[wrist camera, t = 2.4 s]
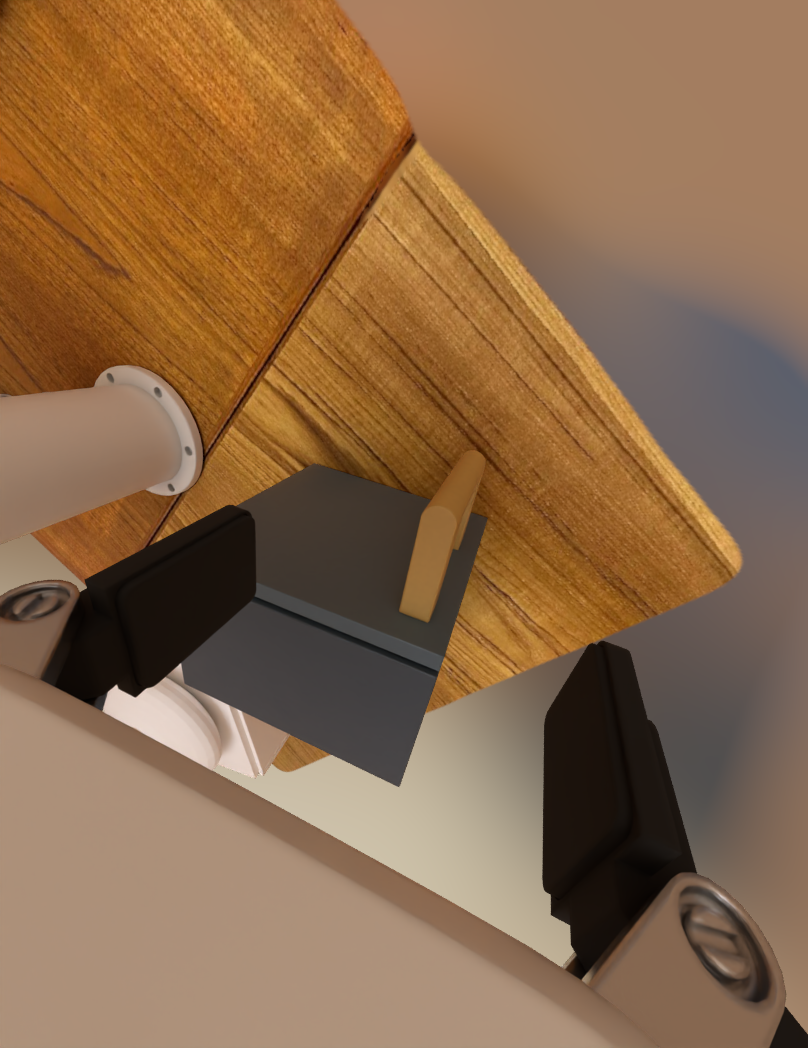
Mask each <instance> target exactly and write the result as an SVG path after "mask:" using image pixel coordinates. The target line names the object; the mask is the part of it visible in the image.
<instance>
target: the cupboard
mask: <svg viewBox="0 0 808 1048" xmlns="http://www.w3.org/2000/svg"><path fill="white" fill-rule="evenodd" d="M181 666H182V672H183V678H184V684H186V685H188V686H190V687H192V688H194V689H196V690H198V691H200V692H203V693H205V694H207V695H209V696H211V697H213V698H215V699H217V700H219V701H221V702H223V703H225V704H227V705H229V706H232V707H234V708H236V709H238V710H240V711H242V712H244V713H246V714H248V715H250V716H252V717H254V718H256V719H259V720H261V721H263V722H265V723H267V724H269V725H271V726H273V727H275V728H277V729H279V730H281V731H283V732H286V733H288V734H290V735H292V736H294V737H296V738H298V739H300V740H302V741H304V742H306V743H308V744H310V745H313V746H315V747H317V748H319V749H321V750H323V751H325V752H327V753H329V754H331V755H333V756H335V757H337V758H340V759H342V760H344V761H346V762H348V763H350V764H352V765H354V766H356V767H358V768H360V769H362V770H365V771H367V772H369V773H371V774H373V775H375V776H377V777H379V778H381V779H383V780H385V781H387V782H390V783H392V784H393V785H396V786H398V787H399V786H400V784H401V781H402V778H403V775H404V772H405V769H406V767H407V764H408V761H409V758H410V755H411V752H412V749H413V746H414V743H415V740H416V738H417V735H418V732H419V729H420V726H421V723H422V720H423V717H424V714H425V711H426V709H427V706H428V703H429V700H430V697H431V694H432V691H433V688H434V685H435V682H436V680H437V677H438V673H439V671H437V670H434V669H432V668H429V667H427V666H424V665H422V664H419V663H417V662H415V661H412V660H410V659H407V658H405V657H402V656H400V655H397V654H395V653H392V652H390V651H388V650H385V649H383V648H380V647H378V646H375V645H373V644H370V643H368V642H365V641H363V640H361V639H358V638H356V637H353V636H351V635H348V634H346V633H343V632H341V631H338V630H336V629H334V628H331V627H329V626H326V625H324V624H321V623H319V622H316V621H314V620H311V619H309V618H307V617H304V616H302V615H299V614H297V613H294V612H292V611H289V610H287V609H285V608H282V607H280V606H277V605H275V604H272V603H270V602H267V601H265V600H262V599H260V598H258V597H255V596H254V598H253V599H252V600H251V602H249V603H248V604H247V605H246V606H245V607H244V608H243V609H242V610H240V611H239V612H238V613H237V614H236V615H235V616H234V617H233V618H231V619H230V620H229V621H228V622H227V623H226V624H225V625H224V626H222V627H221V628H220V629H219V630H218V631H217V632H216V633H214V634H213V635H212V636H211V637H210V638H209V639H208V640H207V641H205V642H204V643H203V644H202V645H201V646H200V647H199V648H198V649H196V650H195V651H194V652H193V653H192V654H191V655H190V656H189V657H187V658H186V659H185V660H184V661H183V662H182V663H181Z"/></svg>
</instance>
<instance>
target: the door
mask: <svg viewBox="0 0 808 1048" xmlns="http://www.w3.org/2000/svg"><path fill="white" fill-rule="evenodd" d="M485 465H486V461H485V458H484V456H483V455H482V454H481V453H480V452H478V451H474V450H471V451H467V452H466V453H464V454H463V455H462V457H461V458H460V460H459V461H458V462H457V464H456V465H455V467H454V468H453V470H452V471H451V472H450V474H449V475H448V477H447V478H446V480H445V481H444V483H443V484H442V485H441V487H440V488H439V490H438V491H437V493H436V494H435V495H434V497H433V498H432V500H429V499H426V498H423V497H420V496H417V495H414V494H410V493H407V492H404V491H401V490H398V489H395V488H391V487H388V486H385V485H382V484H379V483H375V482H372V481H369V480H366V479H363V478H360V477H356V476H353V475H350V474H347V473H344V472H341V471H337V470H334V469H331V468H328V467H325V466H321V465H318V464H315V463H314V464H312V465H310V466H308V467H307V468H305V469H303V470H301V471H299V472H297V473H296V474H294V475H292V476H290V477H288V478H286V479H285V480H283V481H281V482H279V483H277V484H275V485H274V486H272V487H270V488H268V489H266V490H264V491H263V492H261V493H259V494H257V495H255V496H253V497H252V498H250V499H248V500H246V501H244V502H242V503H241V504H239V505H237V506H236V507H239V508H242V509H244V510H247V511H249V512H250V513H251V515H252V518H253V519H254V520H255V531H256V594H255V597H258V598H260V599H262V600H265V601H267V602H270V603H272V604H275V605H277V606H280V607H282V608H285V609H287V610H289V611H292V612H294V613H297V614H299V615H302V616H304V617H307V618H309V619H311V620H314V621H316V622H319V623H321V624H324V625H326V626H329V627H331V628H334V629H336V630H338V631H341V632H343V633H346V634H348V635H351V636H353V637H356V638H358V639H361V640H363V641H365V642H368V643H370V644H373V645H375V646H378V647H380V648H383V649H385V650H388V651H390V652H392V653H395V654H397V655H400V656H402V657H405V658H407V659H410V660H412V661H415V662H417V663H419V664H422V665H424V666H427V667H429V668H432V669H434V670H437V671H439V670H440V668H441V665H442V662H443V659H444V656H445V653H446V650H447V647H448V643H449V640H450V637H451V634H452V631H453V627H454V624H455V621H456V618H457V615H458V612H459V608H460V605H461V602H462V599H463V596H464V592H465V589H466V586H467V583H468V580H469V576H470V573H471V570H472V567H473V564H474V561H475V557H476V554H477V551H478V548H479V545H480V541H481V538H482V535H483V532H484V529H485V526H486V522H487V519H488V518H487V517H483V516H480V515H477V514H474V513H471V511H472V507H473V504H474V501H475V498H476V495H477V491H478V488H479V485H480V482H481V478H482V475H483V472H484V469H485Z"/></svg>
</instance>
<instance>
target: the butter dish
mask: <svg viewBox="0 0 808 1048" xmlns="http://www.w3.org/2000/svg"><path fill="white" fill-rule="evenodd" d="M103 709H104V712H105V713H106V714H108V715H110V716H112V717H114V718H115V719H117V720H119V721H121V722H123V723H125V724H127V725H128V726H130V727H132V728H134V729H136V730H138V731H140V732H141V733H143V734H145V735H147V736H149V737H151V738H153V739H154V740H156V741H158V742H160V743H162V744H164V745H166V746H168V747H169V748H171V749H173V750H175V751H177V752H179V753H181V754H182V755H184V756H186V757H188V758H190V759H192V760H194V761H195V762H197V763H199V764H201V765H203V766H205V767H206V768H208V769H210V770H213V769H214V768H215V767H216V766H217V765H220V766H223V767H226V768H228V769H231V770H234V771H237V772H239V773H242V774H245V775H247V776H250V777H253V778H256V777H257V776H258V774H261V775H264V774H265V773H266V771H267V770H268V768H269V767H270V765H271V764H272V762H273V760H274V759H275V757H276V756H277V754H278V753H279V751H280V750H281V748H282V746H283V745H284V743H285V742H286V740H287V739H288V737H289V735H290V734H288V733H286V732H283V731H281V730H279V729H277V728H275V727H273V726H271V725H269V724H267V723H265V722H263V721H261V720H259V719H256V718H254V717H252V716H250V715H248V714H246V713H244V712H242V711H240V710H238V709H236V708H234V707H232V706H229V705H227V704H225V703H223V702H221V701H219V700H217V699H215V698H213V697H211V696H209V695H207V694H205V693H203V692H200V691H198V690H196V689H194V688H192V687H190V686H188V685H186V684H184V678H183V672H182V666H181V664H179V665H178V666H177V667H176V668H175V669H174V670H173V671H172V672H170V673H169V674H168V675H167V676H166V677H165V678H164V679H163V680H161V681H160V682H159V683H158V684H157V685H155V686H154V687H151V688H146V689H145V690H144V691H143V692H142V693H141V694H139V695H138V696H137V697H136V698H135V697H133V696H131V695H129V694H127V693H125V692H123V691H121V690H119V689H118V686H117V685H116V686H114V687H113V688H112V689H111V690H109V691H108V694H107V698H106V701H105V704H104V707H103Z"/></svg>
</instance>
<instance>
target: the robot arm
mask: <svg viewBox="0 0 808 1048" xmlns="http://www.w3.org/2000/svg"><path fill="white" fill-rule="evenodd" d="M202 463H203V448H202V443H201V438H200V434H199V431H198V428H197V425H196V423H195V421H194V419H193V417H192V415H191V413H190V411H189V409H188V407H187V406H186V404H185V403H184V401H183V400H182V398H181V397H180V396H179V395H178V394H177V393H176V391H175V390H174V389H173V388H172V387H171V386H170V385H169V384H168V383H167V382H166V381H164V380H163V379H162V378H161V377H159V376H158V375H156V374H155V373H153V372H151V371H149V370H147V369H145V368H142V367H139V366H133V365H124V366H114V367H111V368H108V369H107V370H105V371H104V372H102V373H101V374H100V376H99V377H98V379H97V380H96V382H95V385H94V387H92V388H83V389H74V390H65V391H56V392H43V393H38V394H29V395H20V396H11V397H2V398H0V544H3V543H6V542H8V541H10V540H13V539H16V538H19V537H21V536H24V535H27V534H29V533H32V532H34V531H37V530H40V529H42V528H45V527H47V526H50V525H53V524H55V523H58V522H61V521H63V520H66V519H68V518H71V517H74V516H76V515H79V514H82V513H84V512H87V511H89V510H92V509H95V508H97V507H100V506H102V505H105V504H108V503H110V502H113V501H116V500H118V499H121V498H123V497H126V496H129V495H131V494H134V493H137V492H139V491H142V490H144V489H146V490H148V491H150V492H152V493H155V494H159V495H167V496H171V495H176V494H179V493H181V492H184V491H186V490H188V489H189V488H190V487H192V486H193V485H194V484H195V482H196V481H197V480H198V478H199V476H200V473H201V470H202ZM85 583H86V586H87V589H85V590H83V591H81V592H79V590H78V588H77V586H76V585H74V584H72V583H71V582H67V581H63V580H44V581H37V582H33V583H29V584H25V585H22V586H19V587H17V588H14V589H12V590H10V591H8V592H6V593H4V594H3V595H1V596H0V1048H808V1034H807V1033H806V1032H805V1031H804V1029H803V1028H802V1027H801V1026H800V1024H799V1023H798V1022H797V1021H796V1019H795V1018H794V1017H793V1015H792V1014H791V1013H790V1012H789V1011H788V1009H787V1008H786V1007H785V1000H786V990H785V985H784V980H783V975H782V971H781V969H780V966H779V964H778V962H777V959H776V957H775V955H774V953H773V950H772V948H771V946H770V945H769V943H768V941H767V940H766V938H765V936H764V934H763V933H762V931H761V930H760V928H759V926H758V925H757V924H756V922H755V921H754V920H753V919H752V917H751V916H750V915H749V914H748V912H747V911H746V910H745V909H744V908H743V906H742V905H741V904H740V903H739V902H738V901H737V900H736V899H734V898H733V897H732V896H731V895H730V894H729V893H728V892H727V891H726V890H725V889H723V888H722V887H721V886H719V885H717V884H716V883H714V882H713V881H712V880H710V879H709V878H706V877H704V876H701V875H698V874H697V872H696V868H695V865H694V861H693V857H692V854H691V850H690V846H689V843H688V839H687V835H686V832H685V829H684V825H683V821H682V817H681V814H680V810H679V807H678V803H677V799H676V796H675V792H674V788H673V785H672V781H671V778H670V774H669V770H668V767H667V763H666V759H665V756H664V752H663V749H662V745H661V741H660V738H659V734H658V731H657V729H656V727H655V725H654V724H653V723H652V721H650V720H648V719H647V715H646V712H645V708H644V704H643V700H642V697H641V692H640V689H639V685H638V681H637V677H636V673H635V669H634V665H633V662H632V657H631V654H630V652H629V651H628V650H627V649H624V648H622V647H619V646H616V645H613V644H611V643H608V642H605V641H600V642H599V643H598V644H597V645H596V644H593V643H591V644H589V645H588V647H587V648H586V650H585V652H584V653H583V655H582V656H581V658H580V660H579V661H578V663H577V665H576V666H575V668H574V669H573V671H572V672H571V674H570V676H569V678H568V679H567V681H566V682H565V684H564V685H563V687H562V689H561V690H560V692H559V694H558V695H557V697H556V699H555V700H554V702H553V703H552V705H551V707H550V708H549V710H548V712H547V715H546V718H545V724H544V790H543V792H544V793H543V875H542V878H543V887H544V890H545V892H547V893H549V894H551V915H552V916H554V917H555V918H557V919H559V920H561V921H563V922H565V923H567V924H569V925H570V931H571V932H570V933H571V946H572V948H573V949H574V951H575V952H574V953H573V954H572V955H571V957H570V958H569V959H568V960H567V961H566V963H565V964H564V965H563V966H562V967H560V966H558V965H557V964H555V963H554V962H552V961H550V960H549V959H547V958H546V957H544V956H543V955H541V954H539V953H538V952H536V951H535V950H533V949H532V948H530V947H529V946H527V945H525V944H523V943H522V942H520V941H518V940H516V939H515V938H513V937H511V936H510V935H508V934H506V933H504V932H502V931H501V930H499V929H497V928H495V927H494V926H492V925H490V924H488V923H487V922H485V921H483V920H482V919H480V918H478V917H476V916H475V915H473V914H471V913H470V912H468V911H466V910H464V909H463V908H461V907H459V906H457V905H456V904H454V903H452V902H450V901H448V900H447V899H445V898H443V897H442V896H440V895H438V894H436V893H435V892H433V891H431V890H429V889H427V888H425V887H424V886H422V885H420V884H418V883H416V882H415V881H413V880H411V879H409V878H407V877H406V876H404V875H402V874H400V873H398V872H396V871H395V870H393V869H391V868H389V867H387V866H386V865H384V864H382V863H380V862H378V861H376V860H375V859H373V858H371V857H369V856H367V855H365V854H364V853H362V852H360V851H358V850H357V849H355V848H353V847H351V846H349V845H347V844H346V843H344V842H342V841H340V840H338V839H337V838H335V837H333V836H331V835H329V834H327V833H325V832H324V831H322V830H320V829H318V828H317V827H315V826H313V825H311V824H309V823H307V822H306V821H304V820H302V819H300V818H298V817H296V816H295V815H293V814H291V813H289V812H287V811H285V810H284V809H282V808H280V807H278V806H276V805H274V804H273V803H271V802H269V801H267V800H265V799H263V798H261V797H260V796H258V795H256V794H254V793H252V792H251V791H249V790H247V789H245V788H243V787H241V786H239V785H238V784H236V783H234V782H232V781H230V780H228V779H227V778H225V777H223V776H221V775H219V774H217V773H216V772H214V771H212V770H210V769H208V768H206V767H205V766H203V765H201V764H199V763H197V762H195V761H194V760H192V759H190V758H188V757H186V756H184V755H182V754H181V753H179V752H177V751H175V750H173V749H171V748H169V747H168V746H166V745H164V744H162V743H160V742H158V741H156V740H154V739H153V738H151V737H149V736H147V735H145V734H143V733H141V732H140V731H138V730H136V729H134V728H132V727H130V726H128V725H127V724H125V723H123V722H121V721H119V720H117V719H115V718H114V717H112V716H110V715H108V714H106V713H104V712H102V710H103V707H104V704H105V701H106V698H107V694H108V691H109V690H111V689H112V688H113V687H114V686H116V685H117V686H118V689H119V690H121V691H123V692H125V693H127V694H129V695H131V696H133V697H135V698H136V697H137V696H138V695H139V694H141V693H142V692H143V691H144V690H145V689H146V688H151V687H154V686H155V685H157V684H158V683H159V682H160V681H161V680H163V679H164V678H165V677H166V676H167V675H168V674H169V673H170V672H172V671H173V670H174V669H175V668H176V667H177V666H178V665H179V664H181V663H182V662H183V661H184V660H185V659H186V658H187V657H189V656H190V655H191V654H192V653H193V652H194V651H195V650H196V649H198V648H199V647H200V646H201V645H202V644H203V643H204V642H205V641H207V640H208V639H209V638H210V637H211V636H212V635H213V634H214V633H216V632H217V631H218V630H219V629H220V628H221V627H222V626H224V625H225V624H226V623H227V622H228V621H229V620H230V619H231V618H233V617H234V616H235V615H236V614H237V613H238V612H239V611H240V610H242V609H243V608H244V607H245V606H246V605H247V604H248V603H249V602H251V600H252V599H253V598H254V596H255V594H256V531H255V520H254V519H253V518H252V515H251V513H250V512H249V511H247V510H244V509H242V508H239V507H236V506H234V505H227V506H225V507H223V508H221V509H219V510H217V511H215V512H214V513H212V514H210V515H208V516H206V517H204V518H202V519H200V520H198V521H196V522H194V523H193V524H191V525H189V526H187V527H185V528H183V529H181V530H179V531H177V532H175V533H173V534H171V535H170V536H168V537H166V538H164V539H162V540H160V541H158V542H156V543H154V544H152V545H150V546H148V547H147V548H145V549H143V550H141V551H139V552H137V553H135V554H133V555H131V556H129V557H127V558H125V559H124V560H122V561H120V562H118V563H116V564H114V565H112V566H110V567H108V568H106V569H104V570H103V571H101V572H99V573H97V574H95V575H93V576H91V577H89V578H87V579H85Z"/></svg>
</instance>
